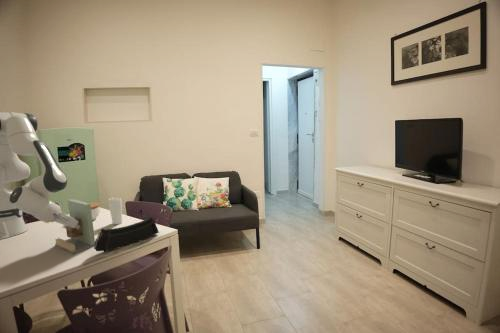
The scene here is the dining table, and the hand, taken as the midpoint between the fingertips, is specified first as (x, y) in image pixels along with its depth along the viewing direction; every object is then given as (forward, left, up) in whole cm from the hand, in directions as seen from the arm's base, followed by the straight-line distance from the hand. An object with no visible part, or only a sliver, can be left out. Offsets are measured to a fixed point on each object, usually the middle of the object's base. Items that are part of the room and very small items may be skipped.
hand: (75, 226), depth 136 cm
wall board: (-1, -1, -9) cm, 10 cm away
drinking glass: (+14, +27, -10) cm, 32 cm away
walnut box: (0, 0, -5) cm, 5 cm away
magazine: (+24, -8, -10) cm, 27 cm away
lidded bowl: (-4, +41, -10) cm, 42 cm away
